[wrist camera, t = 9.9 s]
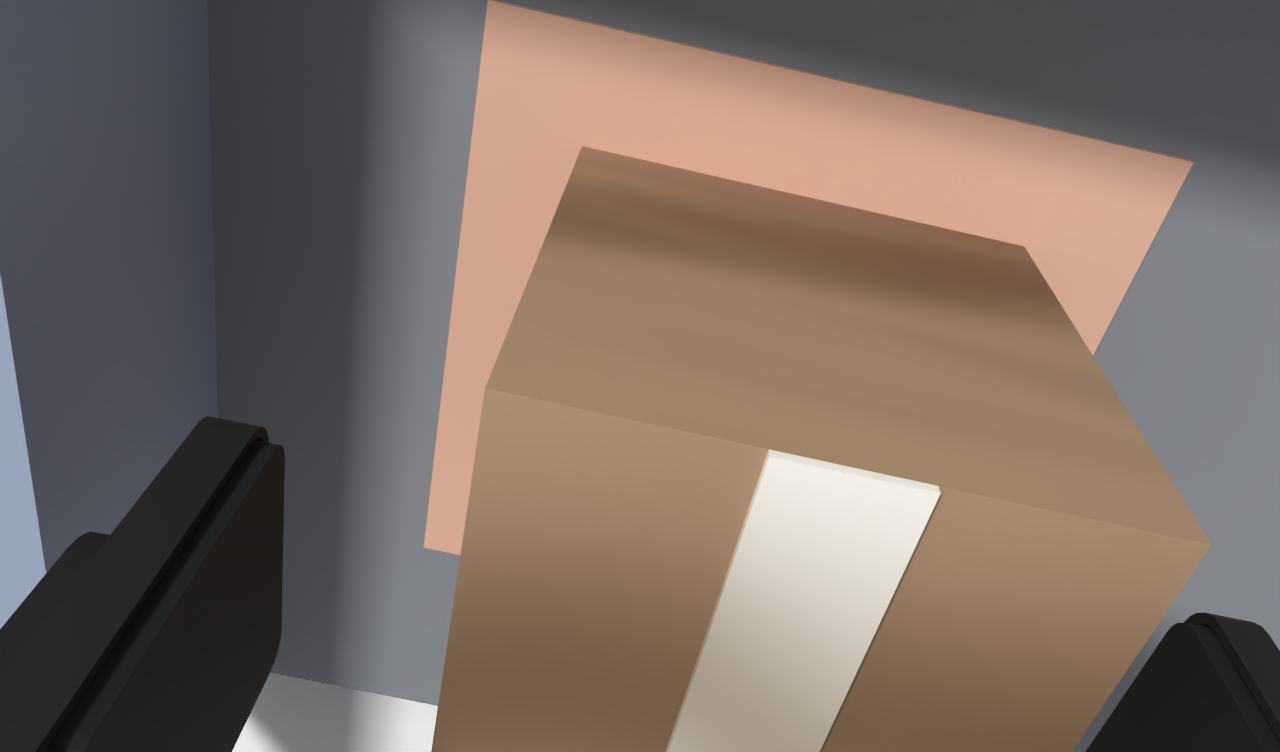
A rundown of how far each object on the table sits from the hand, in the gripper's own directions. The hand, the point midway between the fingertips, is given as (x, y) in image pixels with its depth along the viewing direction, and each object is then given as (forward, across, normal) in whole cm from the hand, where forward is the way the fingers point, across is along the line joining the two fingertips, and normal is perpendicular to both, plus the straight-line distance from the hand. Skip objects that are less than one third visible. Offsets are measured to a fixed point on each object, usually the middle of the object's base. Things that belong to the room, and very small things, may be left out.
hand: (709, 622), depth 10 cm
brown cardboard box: (+5, -1, 0) cm, 5 cm away
